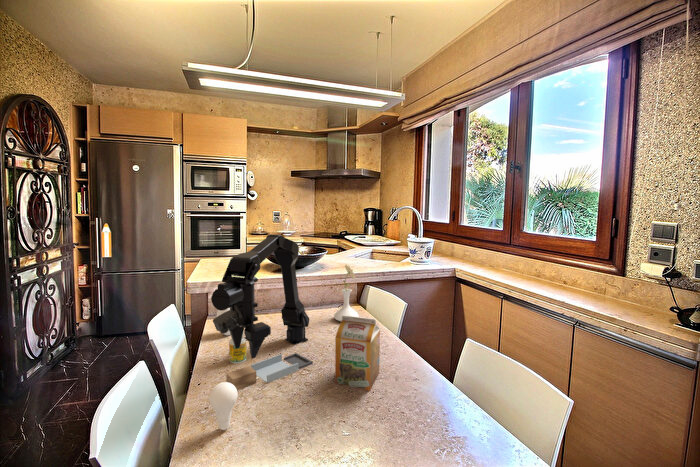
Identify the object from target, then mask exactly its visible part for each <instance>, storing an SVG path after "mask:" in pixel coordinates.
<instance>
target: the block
mask: <svg viewBox="0 0 700 467" xmlns="http://www.w3.org/2000/svg"><path fill="white" fill-rule="evenodd" d="M226 382H228V383H231V384H233V385H234V386H235V387H236V389H237V391H239V390H241V389H244V388H247V387H250V386H253V385H255V384H257V375H256V371H255V370H254V369H253V368H252V367H251V365H248V366H245V367H241V368H238V369H235V370H231V371H229V372H227V373H226Z"/></svg>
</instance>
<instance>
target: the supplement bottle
mask: <svg viewBox="0 0 700 467" xmlns="http://www.w3.org/2000/svg"><path fill="white" fill-rule="evenodd" d="M244 337H245V334H244V331H243V336H242V340H241V344H240V347H239V348H237V349H236V348H235V345H234V342H233V339H232V336H231V335H230V340H229V341H228V346H229V349H228V350H229V362H230V363H231V364H236V365H237V364H242V363H245V361H247V359H248V358H247V340H246V339H245V338H244Z"/></svg>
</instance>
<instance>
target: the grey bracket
mask: <svg viewBox="0 0 700 467" xmlns="http://www.w3.org/2000/svg"><path fill="white" fill-rule="evenodd" d="M250 367H252V368H253V369H254V370H255V371H256V377H258V378H260V379H261V380H262V381H264V382H266V383H267V384H269V383H272V382H273V381H276V380H279V379H282V378H283V377H286V376H288V375H290V374H293V373H295V372H298V371H299V368H298V363H296V364H289V363H287V362H286V361H283V354H282V353H280V354H277V355H273V356H272V357H269V358H266V359H263V360H261V361H258V362H255V363H252V364H251V365H250Z"/></svg>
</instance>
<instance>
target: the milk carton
mask: <svg viewBox="0 0 700 467" xmlns="http://www.w3.org/2000/svg"><path fill="white" fill-rule="evenodd" d="M334 345H335V349H334V350H335V351H334V352H335V357H334V359H335V361H334V362H335V363H334V364H335V366H334V368H335V370H334V371H335V372H334V376H335V378H334V379H335V380H334V384H338V385H339V386H343V387H349V388H352V389H353V388H354V389H359V390H364V391H369V392H371V389H372V388H373V387H374V385H375V382H376V381H377V379H378V377H379V375H380V357H381V355H380V351H381V348H380V347H381V328H380V326H379V325H378V324H377V319H375V318H368V317H361V316H359V317H354V316H346V315H343V316H342V321H340V323H339V326H338V328H337V331H336V335H335V344H334Z"/></svg>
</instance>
